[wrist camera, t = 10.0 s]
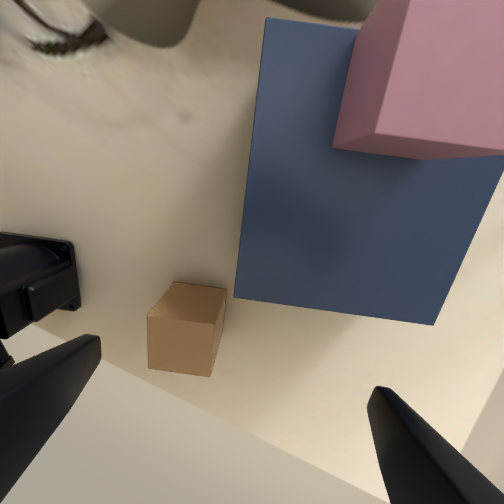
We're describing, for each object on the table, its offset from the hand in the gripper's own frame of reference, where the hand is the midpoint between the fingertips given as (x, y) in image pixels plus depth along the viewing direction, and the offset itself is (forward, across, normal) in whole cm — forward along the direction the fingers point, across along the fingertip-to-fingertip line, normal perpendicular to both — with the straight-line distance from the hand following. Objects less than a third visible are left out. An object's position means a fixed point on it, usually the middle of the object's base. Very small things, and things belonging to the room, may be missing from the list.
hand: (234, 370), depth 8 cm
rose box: (+7, -5, -10) cm, 13 cm away
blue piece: (+12, -5, -6) cm, 14 cm away
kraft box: (+12, +4, +6) cm, 14 cm away
